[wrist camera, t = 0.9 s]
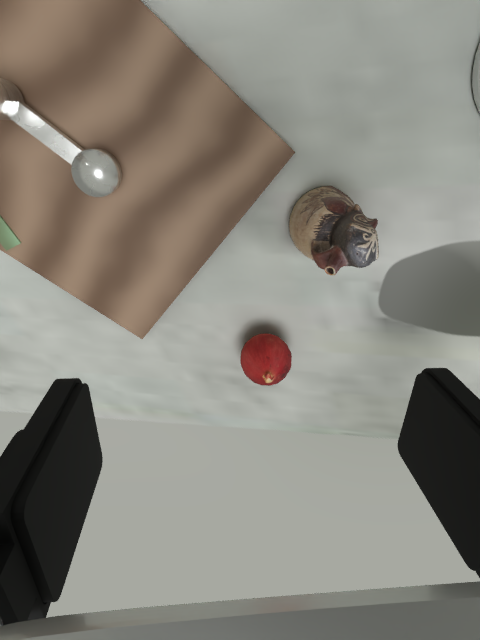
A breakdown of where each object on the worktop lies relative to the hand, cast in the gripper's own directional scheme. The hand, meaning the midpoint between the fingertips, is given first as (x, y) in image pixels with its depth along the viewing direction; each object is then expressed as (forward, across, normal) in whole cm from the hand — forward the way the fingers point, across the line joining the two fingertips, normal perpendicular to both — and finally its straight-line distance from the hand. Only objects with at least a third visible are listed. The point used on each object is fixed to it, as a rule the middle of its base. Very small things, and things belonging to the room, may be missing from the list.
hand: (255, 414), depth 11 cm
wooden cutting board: (+31, +11, -4) cm, 33 cm away
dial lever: (+30, +16, -8) cm, 34 cm away
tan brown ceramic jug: (+31, -11, +1) cm, 33 cm away
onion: (+31, -5, +16) cm, 35 cm away
